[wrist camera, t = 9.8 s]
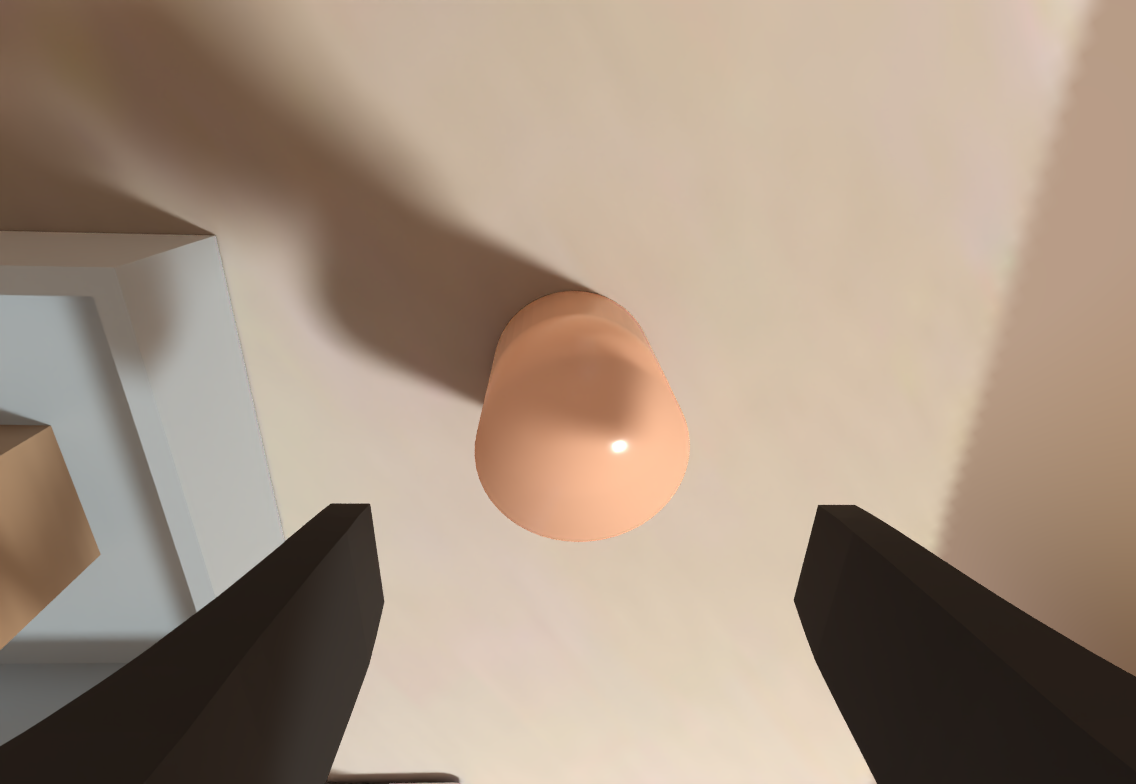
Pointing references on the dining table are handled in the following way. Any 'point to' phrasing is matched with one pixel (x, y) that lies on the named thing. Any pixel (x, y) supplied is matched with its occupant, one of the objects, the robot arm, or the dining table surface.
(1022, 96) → the dining table surface
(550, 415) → the peach rounded capsule
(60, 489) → the walnut block
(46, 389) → the tote
